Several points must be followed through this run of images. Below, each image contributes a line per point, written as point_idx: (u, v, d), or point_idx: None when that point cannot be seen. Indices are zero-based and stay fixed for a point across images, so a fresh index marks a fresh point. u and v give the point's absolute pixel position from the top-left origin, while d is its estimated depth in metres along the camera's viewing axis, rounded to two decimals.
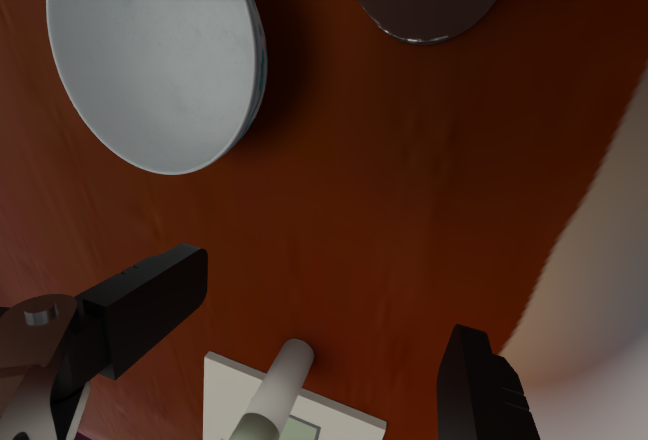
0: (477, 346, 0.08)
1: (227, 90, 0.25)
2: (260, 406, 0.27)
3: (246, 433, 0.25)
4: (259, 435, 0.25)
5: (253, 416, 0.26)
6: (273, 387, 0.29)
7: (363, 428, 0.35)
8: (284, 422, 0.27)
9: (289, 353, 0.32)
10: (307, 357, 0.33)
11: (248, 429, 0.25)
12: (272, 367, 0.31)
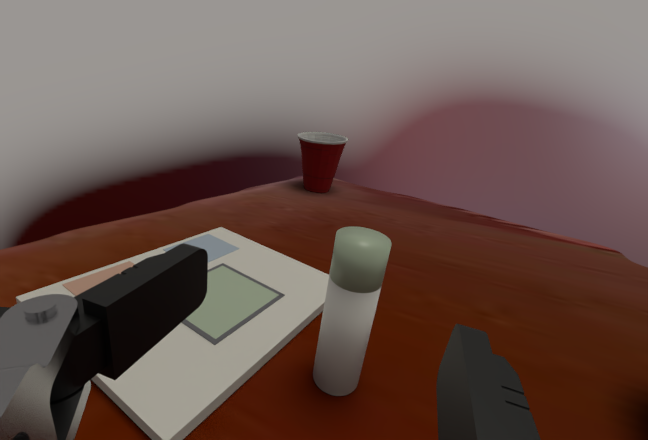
0: (477, 346, 0.08)
1: None
2: (379, 293, 0.22)
3: None
4: (379, 272, 0.20)
5: (382, 280, 0.21)
6: None
7: (187, 404, 0.20)
8: (346, 304, 0.21)
9: (362, 362, 0.24)
10: (343, 382, 0.23)
11: None
12: None
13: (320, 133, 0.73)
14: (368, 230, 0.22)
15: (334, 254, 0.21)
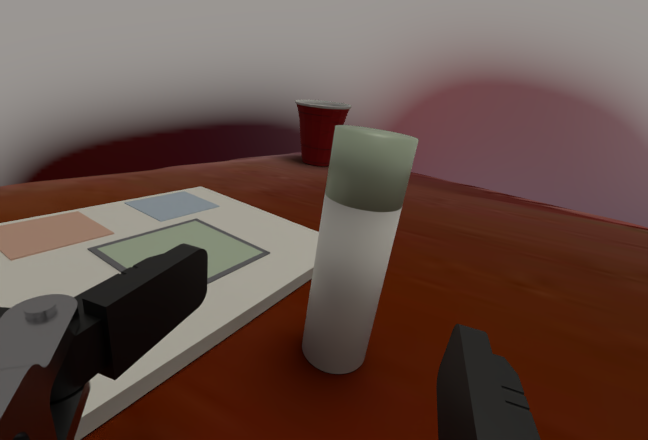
0: (477, 346, 0.08)
1: None
2: (398, 220, 0.15)
3: None
4: (400, 179, 0.13)
5: (403, 199, 0.15)
6: None
7: (107, 378, 0.13)
8: (349, 231, 0.14)
9: (371, 327, 0.17)
10: (344, 354, 0.16)
11: None
12: None
13: (320, 101, 0.66)
14: (382, 130, 0.15)
15: (332, 156, 0.14)
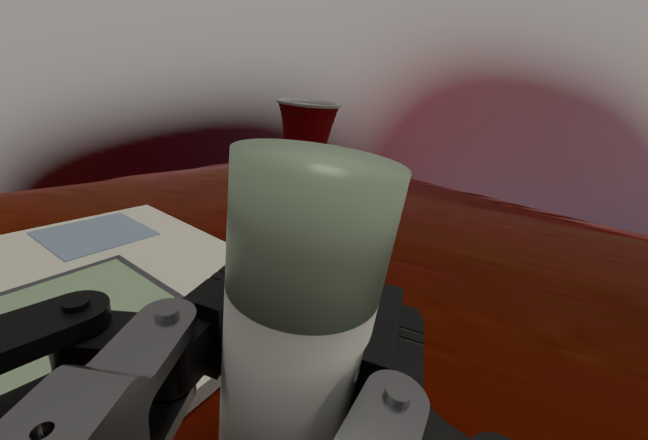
0: (390, 297, 0.09)
1: None
2: (372, 328, 0.07)
3: None
4: (370, 264, 0.06)
5: (382, 289, 0.07)
6: None
7: None
8: (263, 370, 0.06)
9: None
10: None
11: (392, 249, 0.07)
12: None
13: (307, 100, 0.58)
14: (342, 148, 0.08)
15: (227, 207, 0.06)
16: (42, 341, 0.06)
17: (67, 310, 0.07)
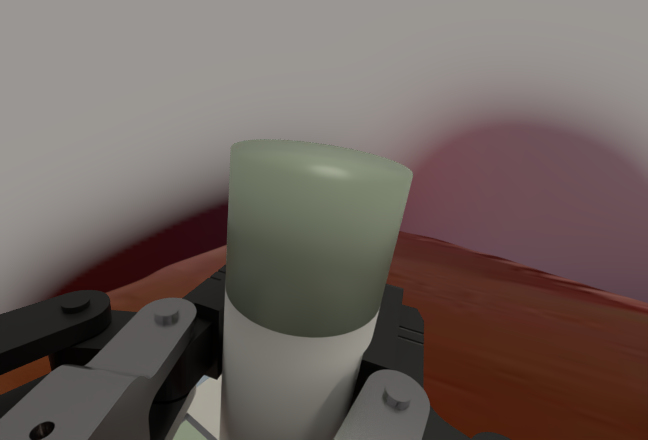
0: (390, 297, 0.09)
1: None
2: (373, 329, 0.07)
3: (397, 236, 0.06)
4: (372, 267, 0.06)
5: (383, 291, 0.07)
6: None
7: None
8: (264, 372, 0.06)
9: None
10: None
11: None
12: None
13: None
14: (343, 149, 0.08)
15: (228, 208, 0.06)
16: (42, 341, 0.06)
17: (67, 310, 0.07)
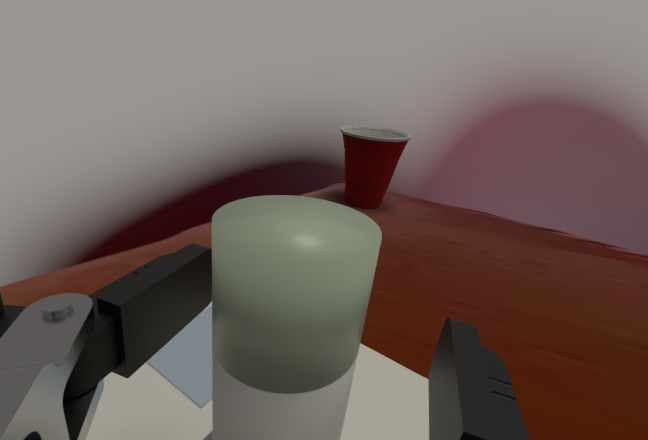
0: (466, 339, 0.08)
1: None
2: None
3: None
4: (343, 328, 0.06)
5: (360, 340, 0.08)
6: (339, 439, 0.08)
7: None
8: (248, 423, 0.07)
9: None
10: None
11: (367, 305, 0.07)
12: None
13: (368, 127, 0.54)
14: (322, 203, 0.08)
15: None
16: None
17: None
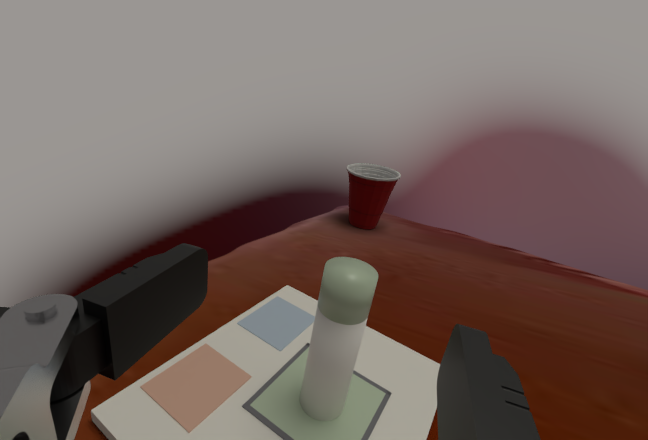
0: (477, 346, 0.08)
1: None
2: None
3: (373, 294, 0.21)
4: (365, 305, 0.21)
5: (369, 310, 0.22)
6: (359, 347, 0.23)
7: None
8: (333, 335, 0.21)
9: (348, 388, 0.24)
10: (329, 408, 0.24)
11: (372, 298, 0.22)
12: None
13: (367, 165, 0.68)
14: (356, 261, 0.23)
15: (322, 285, 0.21)
16: None
17: None
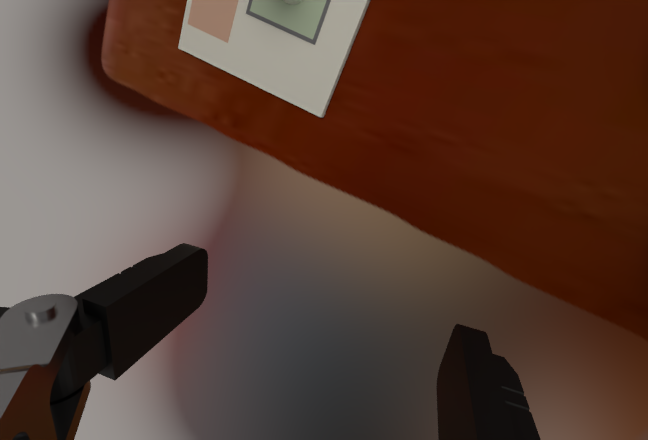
0: (477, 346, 0.08)
1: None
2: None
3: None
4: None
5: None
6: None
7: (320, 95, 0.36)
8: None
9: None
10: None
11: None
12: None
13: None
14: None
15: None
16: None
17: None
